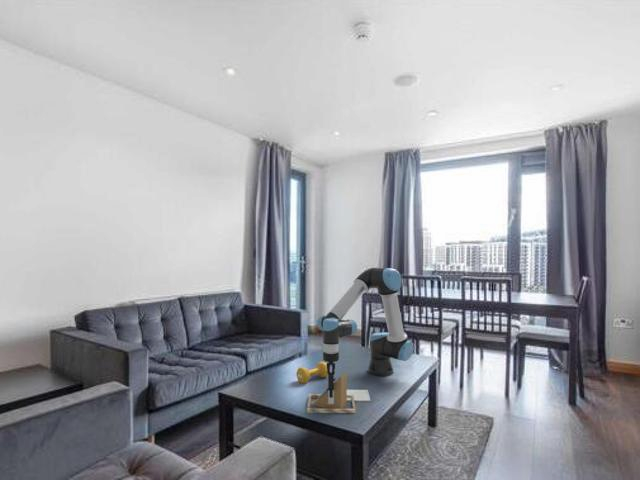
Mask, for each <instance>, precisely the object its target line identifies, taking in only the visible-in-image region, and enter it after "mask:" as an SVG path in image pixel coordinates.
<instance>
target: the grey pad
mask: <svg viewBox="0 0 640 480" xmlns="http://www.w3.org/2000/svg"><path fill="white" fill-rule="evenodd" d="M347 395H353V396H354V402H362V403H364V402H367V403H368V402H371V397H370V394H369V390H368V389H347ZM347 402H352V398H351V397H347Z"/></svg>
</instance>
